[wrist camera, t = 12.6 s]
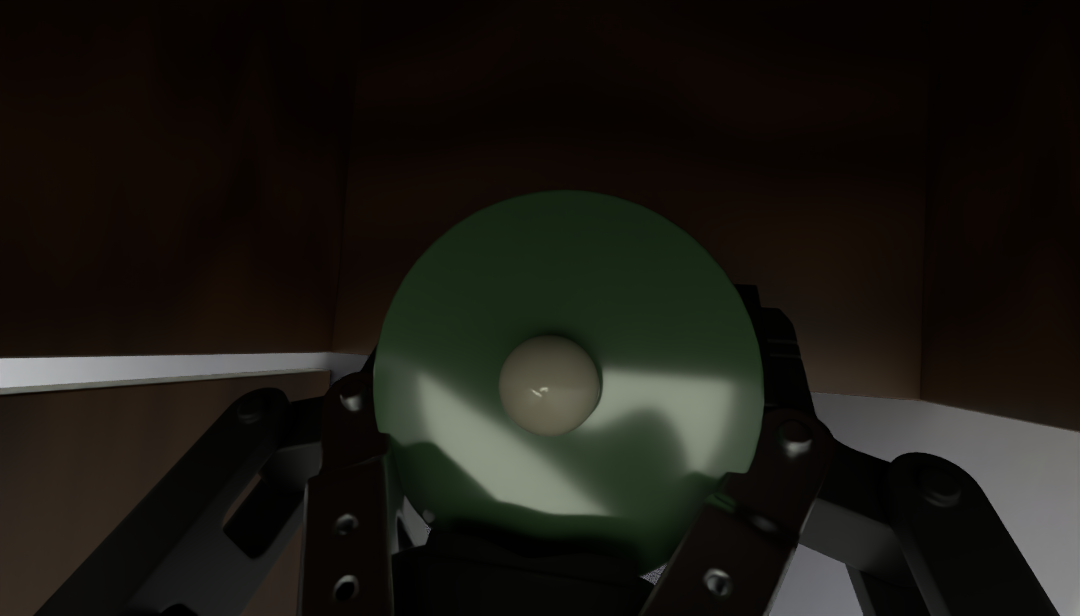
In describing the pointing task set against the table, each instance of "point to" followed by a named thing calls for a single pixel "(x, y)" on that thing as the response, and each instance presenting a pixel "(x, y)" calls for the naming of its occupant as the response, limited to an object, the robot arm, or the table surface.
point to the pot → (568, 378)
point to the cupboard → (552, 170)
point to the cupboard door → (113, 471)
